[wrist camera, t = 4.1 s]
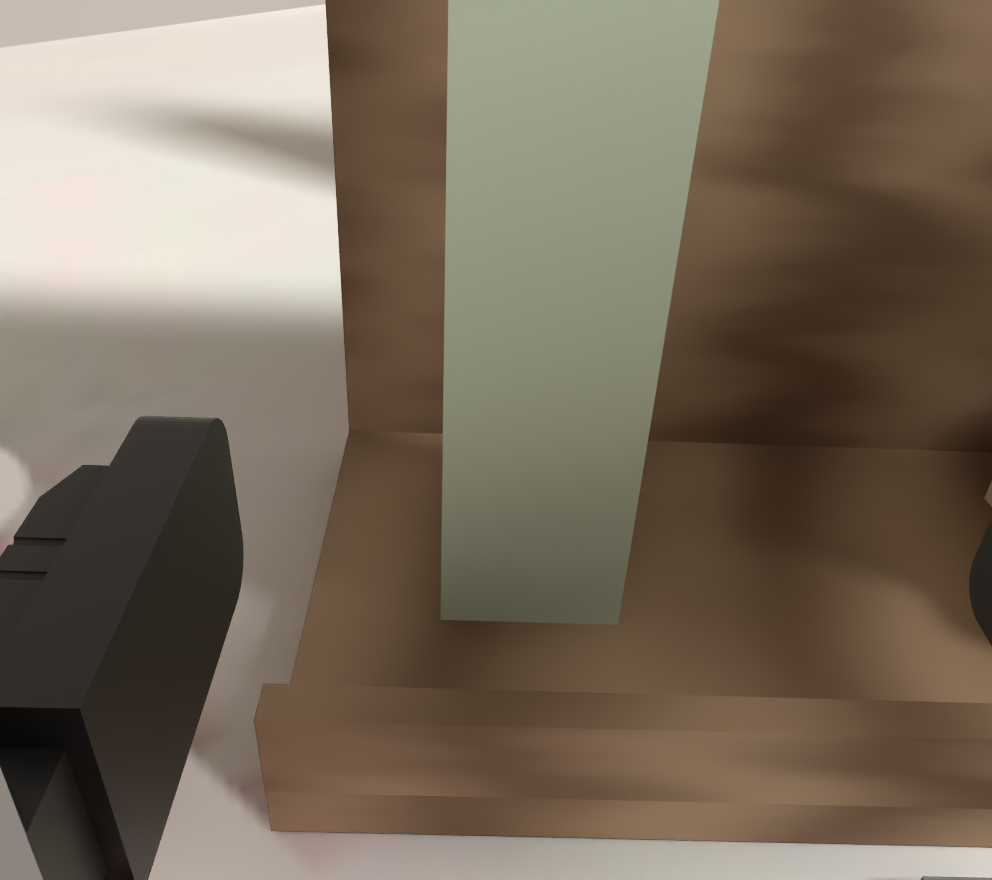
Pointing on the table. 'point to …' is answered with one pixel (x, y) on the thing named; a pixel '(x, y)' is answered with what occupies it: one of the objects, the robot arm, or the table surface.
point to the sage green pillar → (558, 289)
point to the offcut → (989, 495)
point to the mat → (953, 878)
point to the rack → (686, 472)
